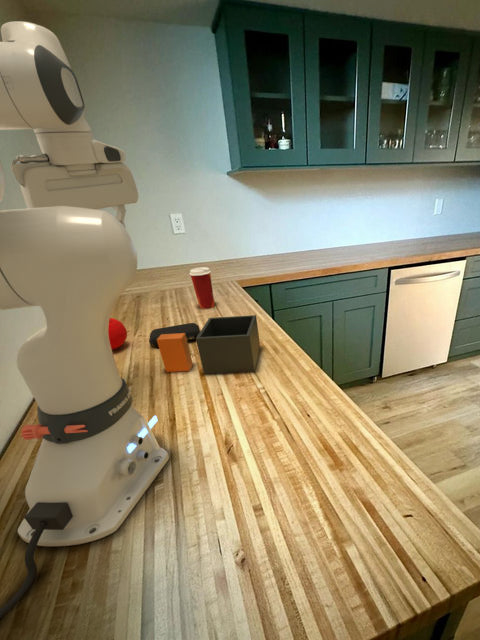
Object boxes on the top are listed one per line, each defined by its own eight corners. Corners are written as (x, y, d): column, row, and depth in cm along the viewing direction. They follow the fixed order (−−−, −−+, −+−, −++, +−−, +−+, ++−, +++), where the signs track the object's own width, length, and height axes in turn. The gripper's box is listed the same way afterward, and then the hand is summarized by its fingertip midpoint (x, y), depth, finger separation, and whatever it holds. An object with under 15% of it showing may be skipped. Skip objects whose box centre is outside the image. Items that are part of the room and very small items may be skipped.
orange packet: (189, 370, 85) (181, 338, 80) (166, 372, 85) (156, 339, 80) (193, 364, 87) (185, 332, 83) (170, 366, 88) (161, 334, 83)
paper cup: (221, 304, 130) (214, 267, 123) (206, 310, 125) (198, 272, 118) (207, 302, 134) (199, 266, 127) (192, 308, 129) (183, 270, 122)
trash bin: (254, 371, 82) (249, 335, 77) (203, 374, 83) (195, 338, 78) (260, 347, 94) (256, 315, 89) (215, 350, 94) (209, 317, 90)
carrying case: (150, 351, 96) (202, 341, 100) (147, 341, 95) (200, 332, 99) (151, 337, 105) (199, 329, 109) (148, 328, 104) (197, 320, 108)
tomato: (109, 340, 105) (97, 310, 100) (138, 341, 103) (128, 310, 98) (84, 355, 97) (70, 323, 92) (115, 357, 94) (103, 323, 89)
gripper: (14, 155, 52) (53, 247, 60) (131, 150, 66) (151, 226, 74) (-3, 156, 55) (37, 243, 63) (113, 151, 69) (133, 223, 77)
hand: (99, 234), depth 69 cm, fingers open, 8 cm apart
